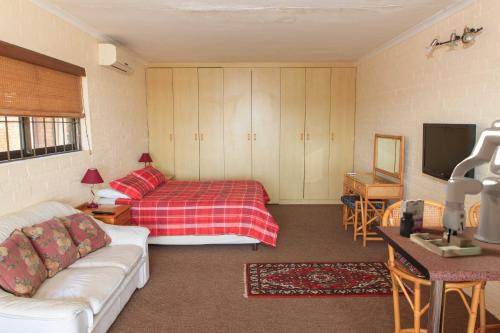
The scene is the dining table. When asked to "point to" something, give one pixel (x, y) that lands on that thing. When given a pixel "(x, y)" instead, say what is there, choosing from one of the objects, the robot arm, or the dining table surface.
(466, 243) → the tan wooden block
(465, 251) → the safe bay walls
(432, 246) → the lane box
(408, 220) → the supplement bottle
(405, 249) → the dining table surface
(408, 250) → the dining table surface
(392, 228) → the dining table surface
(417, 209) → the candy bar box
